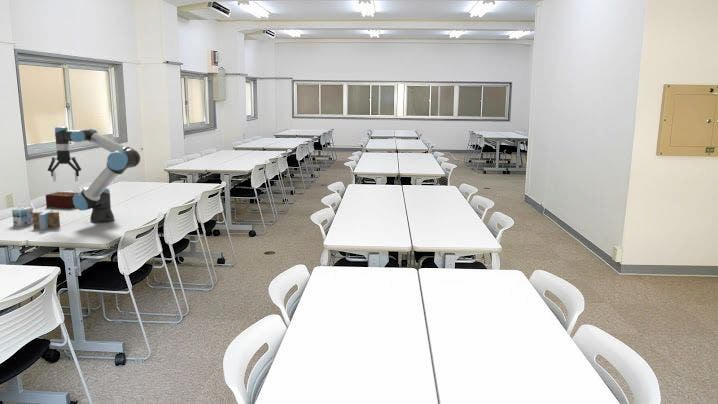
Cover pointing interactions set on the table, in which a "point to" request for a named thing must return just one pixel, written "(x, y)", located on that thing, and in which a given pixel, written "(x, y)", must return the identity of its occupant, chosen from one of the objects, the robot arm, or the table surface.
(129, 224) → the table surface
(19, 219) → the light bulb box
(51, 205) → the box
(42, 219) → the blue-grey rectangular slab
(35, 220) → the brown wooden u-shaped block
